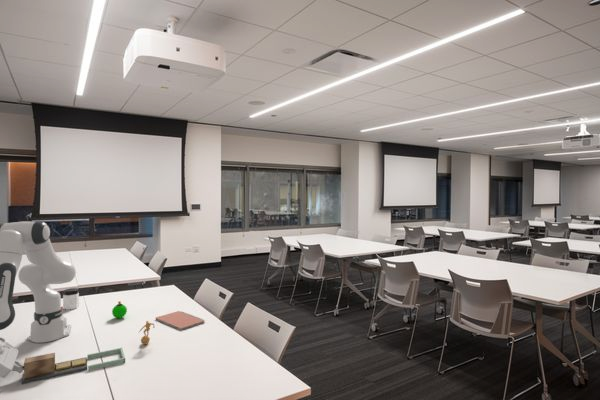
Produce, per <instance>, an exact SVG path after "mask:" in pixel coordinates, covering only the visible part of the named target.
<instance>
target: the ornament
mask: <svg viewBox="0 0 600 400" xmlns="http://www.w3.org/2000/svg"><path fill="white" fill-rule="evenodd" d="M127 312H128V307H127V306H126V305H124V304H122V302H121V301H120V300H119V301H118V304H116V305H115V306H113V308H112V310H111V314H112V316H113V317H114V318H115V319H121V318H123V317H125V315H126V314H127Z"/></svg>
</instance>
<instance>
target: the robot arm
mask: <svg viewBox="0 0 600 400" xmlns="http://www.w3.org/2000/svg"><path fill="white" fill-rule="evenodd" d="M50 237H51V228H50V226H49V224H47V223H46V222H45V221H27V220H25V221H17V222H16V221H15V222H14V221H13V222H2V223H0V331H2V330H5V329H7V328H8V327H9V326H11V324H12V323H13V322H14V320H15V317H16V310H15V307H14V303H13V296H14V288H15V282H16V277H17V274H18V280H19V282H20V283H21V284H23V285H25V286H26V287H27V288H28V289H29V290H30V291H31V293H32V296H33V299H34V313H33V320H34V321H32V322H31V323H30V335H28V336H27V338H26V340H27V341H31V342H32V343H37V344H38V343H47V342H52V341H56V340H59V339H61V338H66V337H69V336H70V334H71V330H72V325H71V324H68V323H67V322H68V321H67V320H68V319H67V318H66V317H65V316H64V315H63V310H64V309H63V306H62V304H61V303H62V298H61V297H62V296H61V293H60V292H59V291H57V290H55V289H53V288H52V287H51V286H50V285H62V284H66V283H70V282H72V281H73V280H74V278H75V277H76V274H77V271H76V268H75V265H74V264H73V263H70V262H68V261H66V260H64V259H63V258H61V257H60V256H59V255H58V254H57V253H56V252H55V250H54V247H53V244H52V241H51V239H50ZM23 253H25V255H26V258H27V261H29V262H30V263H29V264H25V265H23V266H22V267H21V268H20V266H21V262H22V257H23ZM19 268H20V270H19ZM18 355H19V350H18V349H17V348H16V347H15V346H13V345H12V344H10V343H9V342H7V341H6V339H5V338H4V337H1V336H0V378H2V379H3V378H6V377H7V376H9V374H10V373H11V372H15V373H16V372H17V373H18V374H21V373H23V372H24V364H21V362H20V361H19V360H17V357H18Z"/></svg>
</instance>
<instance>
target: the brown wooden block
mask: <svg viewBox="0 0 600 400" xmlns="http://www.w3.org/2000/svg"><path fill="white" fill-rule="evenodd" d="M55 364H56V353H55V352H52V353H50V352H49V353H45V354H40V355H36V356H31V357H30V356H29V357H26V358H24V362H23V366H24V370H23V378H29V377H33V376H38V375H42V374H47V373H52V372H55Z"/></svg>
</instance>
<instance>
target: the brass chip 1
mask: <svg viewBox="0 0 600 400" xmlns="http://www.w3.org/2000/svg"><path fill="white" fill-rule="evenodd" d="M68 361H69V362H66V361H63V362H64V363H61V362H58V363H59V364H57V366H56V371H61V370H66V369H70V368H71V361H70V360H68Z"/></svg>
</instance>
